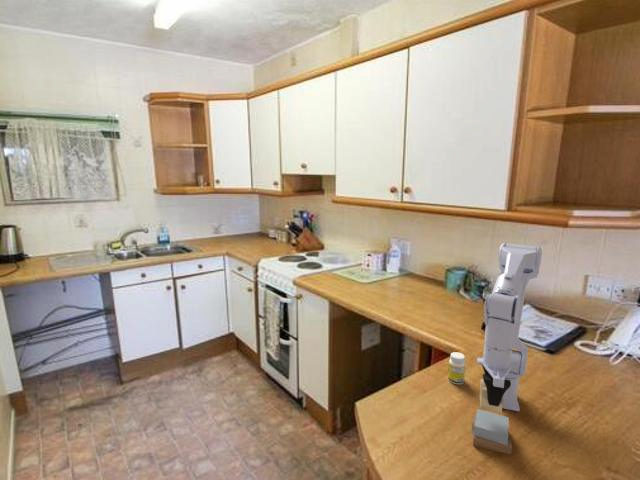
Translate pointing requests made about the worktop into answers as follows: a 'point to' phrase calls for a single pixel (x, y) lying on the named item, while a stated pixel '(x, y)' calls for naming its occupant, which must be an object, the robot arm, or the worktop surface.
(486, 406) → the oak block
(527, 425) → the worktop surface
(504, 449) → the walnut slab
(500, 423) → the slate slab
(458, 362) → the supplement bottle
